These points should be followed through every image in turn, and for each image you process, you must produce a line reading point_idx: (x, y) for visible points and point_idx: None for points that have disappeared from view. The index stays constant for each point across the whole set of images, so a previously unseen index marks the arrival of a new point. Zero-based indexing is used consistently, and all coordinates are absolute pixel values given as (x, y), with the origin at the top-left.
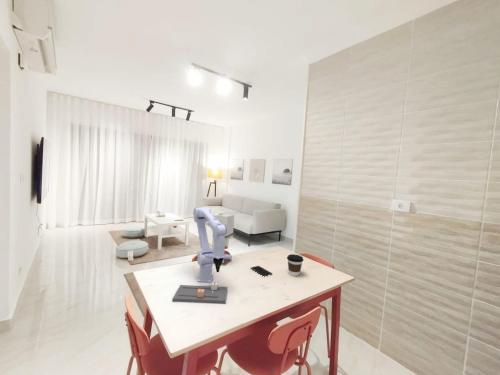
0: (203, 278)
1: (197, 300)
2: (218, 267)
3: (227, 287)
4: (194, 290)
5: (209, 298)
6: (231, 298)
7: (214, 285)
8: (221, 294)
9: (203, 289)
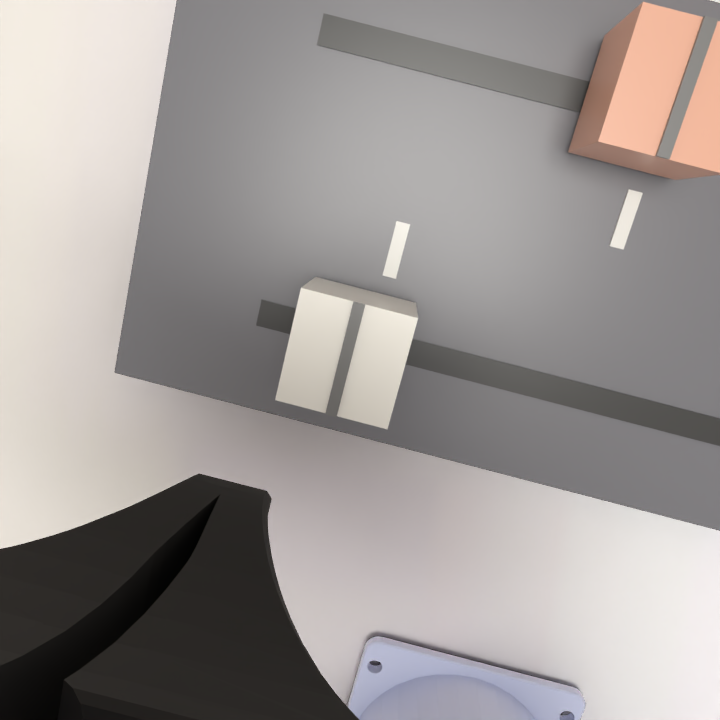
0: (500, 716)
1: (704, 6)
2: (156, 528)
3: (117, 364)
4: (713, 348)
5: (485, 5)
6: (95, 64)
7: (355, 300)
8: (248, 124)
9: (622, 128)
